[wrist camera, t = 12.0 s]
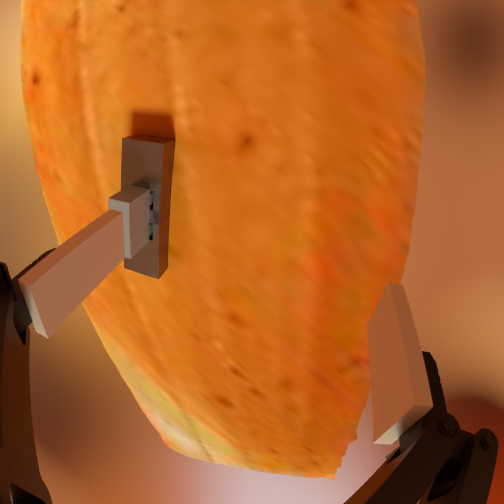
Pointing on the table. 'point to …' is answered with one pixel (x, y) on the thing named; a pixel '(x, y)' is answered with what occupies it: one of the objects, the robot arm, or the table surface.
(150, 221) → the block with rectangular hole
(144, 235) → the upright grey box
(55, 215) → the table surface
